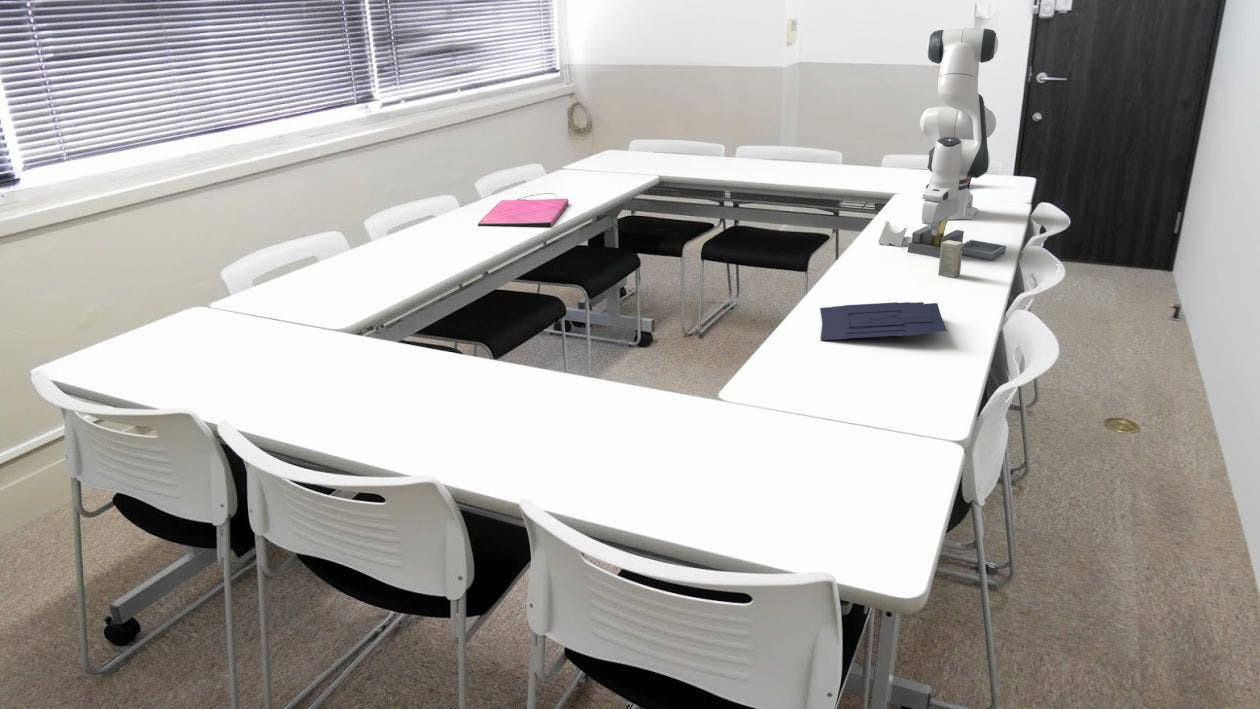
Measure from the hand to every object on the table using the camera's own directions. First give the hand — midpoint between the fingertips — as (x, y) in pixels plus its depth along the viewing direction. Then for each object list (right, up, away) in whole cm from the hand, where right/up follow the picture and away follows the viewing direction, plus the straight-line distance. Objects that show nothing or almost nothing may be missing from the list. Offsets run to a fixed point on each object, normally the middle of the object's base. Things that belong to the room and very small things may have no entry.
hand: (938, 232), depth 296 cm
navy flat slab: (-36, -33, -61) cm, 78 cm away
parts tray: (+12, -7, -3) cm, 15 cm away
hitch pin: (0, -5, +2) cm, 6 cm away
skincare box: (-4, -16, -22) cm, 28 cm away
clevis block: (-1, -5, +1) cm, 6 cm away
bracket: (-11, -1, +13) cm, 17 cm away
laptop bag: (-139, +14, +54) cm, 150 cm away
